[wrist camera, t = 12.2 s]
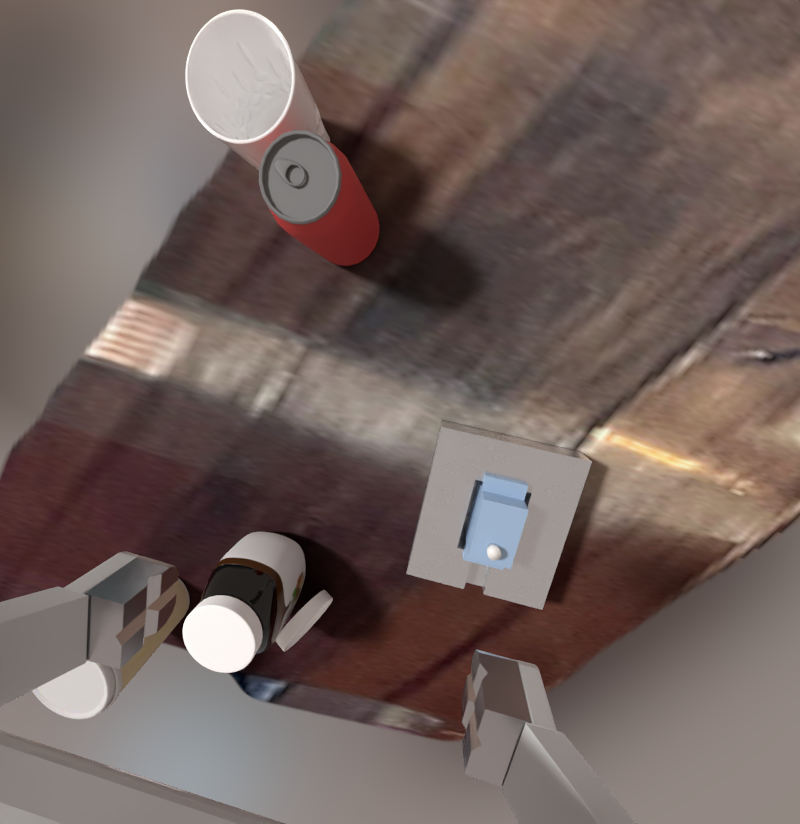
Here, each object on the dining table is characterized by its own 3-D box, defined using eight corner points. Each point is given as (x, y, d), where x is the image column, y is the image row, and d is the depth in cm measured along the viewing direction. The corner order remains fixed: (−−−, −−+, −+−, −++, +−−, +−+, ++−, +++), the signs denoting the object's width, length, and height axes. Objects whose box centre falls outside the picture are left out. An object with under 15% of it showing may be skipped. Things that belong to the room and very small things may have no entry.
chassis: (579, 451, 37) (592, 461, 34) (534, 588, 40) (542, 609, 37) (441, 419, 38) (441, 426, 35) (409, 556, 41) (406, 573, 38)
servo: (521, 474, 37) (535, 498, 31) (498, 552, 39) (507, 588, 33) (482, 465, 37) (489, 487, 32) (461, 543, 39) (464, 577, 34)
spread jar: (250, 516, 43) (179, 579, 31) (344, 537, 42) (306, 610, 30) (242, 605, 45) (174, 693, 34) (331, 626, 44) (291, 725, 33)
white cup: (354, 139, 34) (317, 58, 24) (307, 215, 36) (255, 167, 26) (286, 85, 34) (221, -19, 24) (242, 164, 36) (165, 97, 26)
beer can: (335, 179, 35) (280, 97, 23) (393, 218, 35) (368, 156, 23) (302, 243, 36) (233, 196, 25) (357, 280, 36) (316, 251, 25)
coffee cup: (116, 598, 47) (8, 683, 36) (146, 547, 45) (42, 619, 34) (175, 640, 47) (87, 739, 36) (209, 591, 45) (126, 678, 34)
